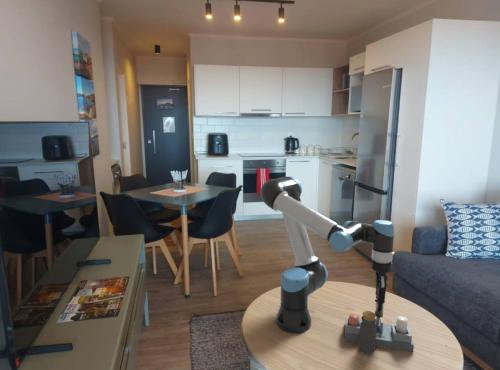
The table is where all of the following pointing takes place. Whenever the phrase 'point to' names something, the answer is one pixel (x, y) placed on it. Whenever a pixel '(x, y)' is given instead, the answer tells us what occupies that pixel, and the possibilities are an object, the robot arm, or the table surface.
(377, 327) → the lever
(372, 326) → the bottle
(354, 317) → the button terracotta
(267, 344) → the table surface
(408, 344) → the panel
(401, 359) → the table surface
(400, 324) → the button ivory
